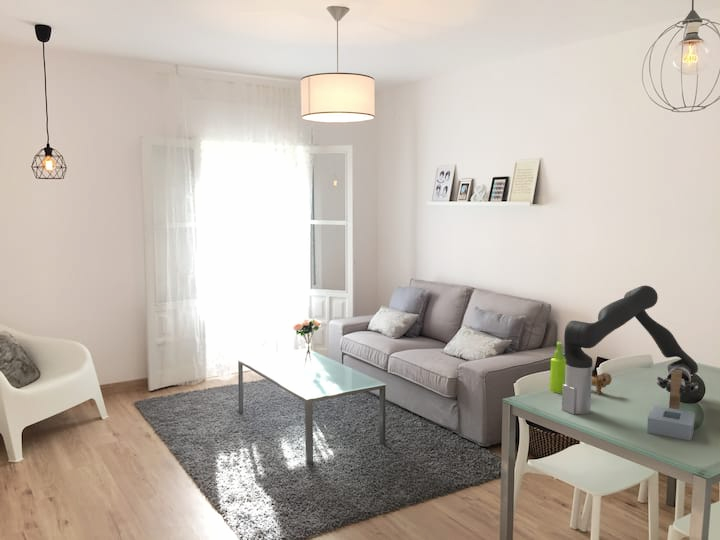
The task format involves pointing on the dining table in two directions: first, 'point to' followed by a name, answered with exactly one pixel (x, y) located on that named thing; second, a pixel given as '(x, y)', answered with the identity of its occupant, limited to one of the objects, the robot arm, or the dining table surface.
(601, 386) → the lion figurine
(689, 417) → the grey slotted block
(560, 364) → the green bottle
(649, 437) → the dining table surface
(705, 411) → the dining table surface
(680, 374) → the slat
